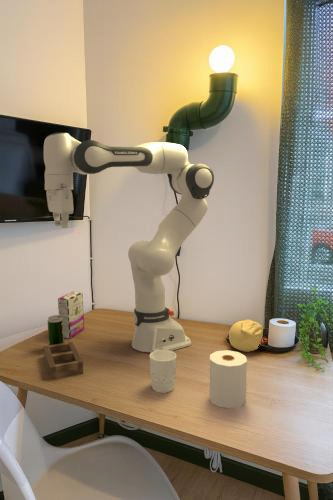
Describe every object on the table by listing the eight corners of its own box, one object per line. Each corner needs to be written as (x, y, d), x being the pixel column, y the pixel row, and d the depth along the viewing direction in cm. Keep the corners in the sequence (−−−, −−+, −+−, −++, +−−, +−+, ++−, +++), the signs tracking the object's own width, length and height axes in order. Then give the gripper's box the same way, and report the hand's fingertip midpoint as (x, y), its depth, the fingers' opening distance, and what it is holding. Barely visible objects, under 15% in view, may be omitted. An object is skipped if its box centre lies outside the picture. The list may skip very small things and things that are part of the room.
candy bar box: (74, 328, 163) (72, 290, 160) (84, 329, 161) (83, 291, 159) (59, 337, 152) (57, 297, 150) (69, 339, 151) (68, 298, 148)
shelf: (73, 352, 138) (72, 341, 138) (83, 373, 122) (82, 361, 122) (44, 357, 135) (43, 346, 134) (50, 379, 118) (50, 367, 118)
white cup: (167, 396, 108) (167, 363, 107) (144, 389, 112) (144, 357, 111) (181, 384, 115) (181, 353, 113) (159, 378, 119) (159, 347, 118)
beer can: (51, 352, 138) (49, 320, 136) (47, 347, 143) (45, 316, 141) (66, 349, 141) (64, 318, 139) (61, 344, 146) (59, 314, 144)
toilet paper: (221, 412, 101) (222, 368, 99) (202, 393, 110) (202, 353, 108) (253, 403, 105) (254, 361, 103) (232, 386, 114) (233, 347, 112)
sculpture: (253, 357, 134) (254, 328, 132) (223, 349, 141) (223, 321, 139) (266, 347, 143) (268, 319, 141) (237, 339, 150) (238, 313, 148)
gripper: (77, 183, 117) (79, 229, 119) (61, 185, 135) (63, 224, 137) (56, 183, 114) (58, 230, 116) (43, 184, 132) (45, 225, 134)
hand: (61, 226), depth 127 cm, fingers open, 8 cm apart
